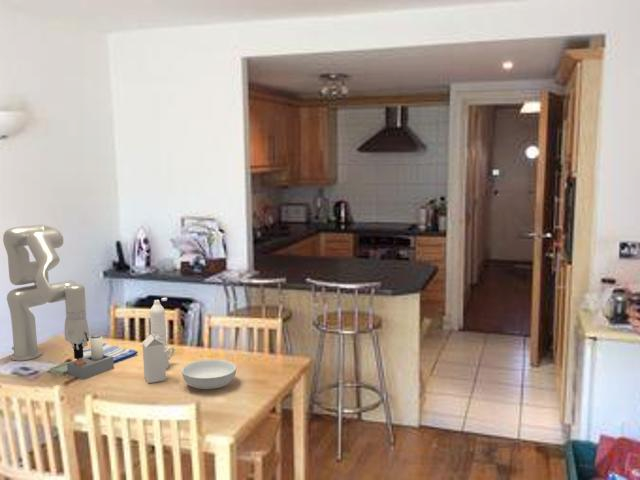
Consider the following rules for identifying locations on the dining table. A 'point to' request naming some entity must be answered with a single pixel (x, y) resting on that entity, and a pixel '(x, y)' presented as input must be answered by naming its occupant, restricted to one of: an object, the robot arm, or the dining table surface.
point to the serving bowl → (209, 373)
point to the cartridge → (96, 347)
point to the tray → (60, 369)
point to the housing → (90, 367)
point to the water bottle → (158, 320)
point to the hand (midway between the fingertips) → (78, 358)
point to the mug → (168, 355)
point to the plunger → (79, 362)
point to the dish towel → (114, 353)
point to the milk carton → (154, 359)
